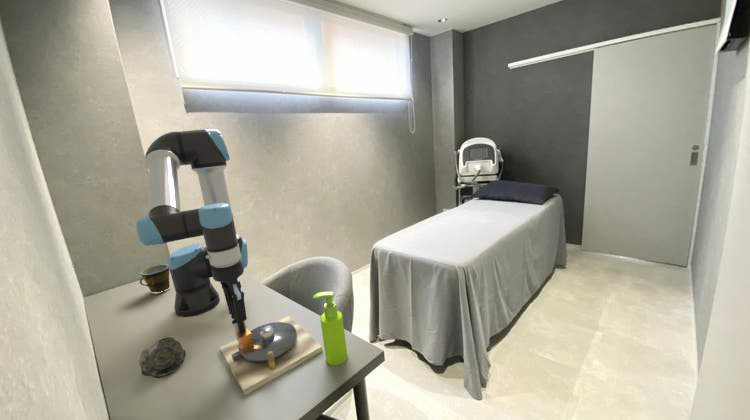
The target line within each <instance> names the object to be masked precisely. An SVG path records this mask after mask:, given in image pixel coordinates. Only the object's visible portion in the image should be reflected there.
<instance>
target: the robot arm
mask: <svg viewBox="0 0 750 420" xmlns="http://www.w3.org/2000/svg"><path fill="white" fill-rule="evenodd" d="M144 156H145V157H144V164H145V166H146V168H147V169H148V192H147V194H148V196H147V198H148V201H147V202H148V203H147V204H148V206H147V208H148V209H147V216H144V217H141V218H138V220H137V221H136V232H137V236H138V239H139V240H140V242H141V244H142V245H144V246H146V247H147V246H149V247H150V246H155V245H163V244H167V243H172V242H176V241H180V240H185V239H190V238H191V239H192V238H197V237H201V236H203V239H204V242H205V243H204V244H205V247H204V246H203V245H202V244H200V243H195V244H189V245H187V246H183V247H181V248H178V249H177V250H175V251H173V252H172V253H171V254H169V256H168V257H167V263H168V264H167V265H169V274H170V276H171V280H172V282H173V283H172V284H173V288H174V290H175V297H174V298H175V299H174V306H173V309H174V312H175V315H176V316H177V317H179V318H191V317H196V316H200V315H203V314H204V313H207V312H209V311H211V310H213V309H214V308H216V307H217V306H218V305H219V303H220V301H221V298H220V294H219V293H218V291H217V289H216V288H215V286H214V285H213V284H212V282H211V278H212V279H213V281H215V282H218V283H220V285H221V288H222V291H223V293H224V298H225V302H226V305H227V308H228V313H229V315H231V316H230V317H231V319H232V320H231V324H232V325H233V328H234V331H235V338H236V340H237V341H238V338H237V333H239V332H240V333H241V332H243V331H245V329H248V328H247V325H246V321H247V319H248V317H247V312H246V303H245V292H244V291H242V290H241V289H242V285H241V281H238V279H239V277H241V276H242V275H243V274H244V271H245V270H244V269H246V268H247V267H248V265H249V264H248V263H249V254H248V246H247V245H248V244H247V243H248V242H247V239H246V238H242V235H241V234H240V233H238V232H237V230H236V225H235V221H234V214H233V211H232V207H231V203H230V202H231V200H230V196H229V192H228V186H227V181H226V176H225V172H224V170H225V169H226V168H227V167H228V165H227V162H228V161H230V158H231V157H230V155H229V151H228V148H227V145H226V142H225V139H224V137H223V135H222V132H221V131H220V130H218V129H215V128H214V129H213V128H211V129H207V128H206V129H193V130H182V131H170V132H167V133H164V134H162V135H160V136H158V138H156V139H154V140H153V141H152V143H151V144H150V145H149V146H148V148H147V151H146V153H145V155H144ZM181 166H190V167H191V168H190V169H191V170H192V171H193V172H195V173H196V174H197V177H198V182H199V187H200V192H201V196H202V200H203V204H204V205H203V206H201V207H200V208H194V209H188V210H183V211H181V201H180V187H179V176H178V175H179V174H178V171H179V169H180V168H181Z"/></svg>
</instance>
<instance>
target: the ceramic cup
mask: <svg viewBox="0 0 750 420" xmlns="http://www.w3.org/2000/svg"><path fill="white" fill-rule="evenodd" d="M140 275H141V278H140V280H139V284H140V285H141V286H146V287H148V288H149V291H150V293H151V292H161V291H164V290H166V289H168V288H169V287H170V270H169V264H163V263H162V264H157V265H154V266H150V267H148V268H147V267H146V268H144V269H143V270H142V271H140ZM143 281H144V282H145V283H143Z"/></svg>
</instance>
